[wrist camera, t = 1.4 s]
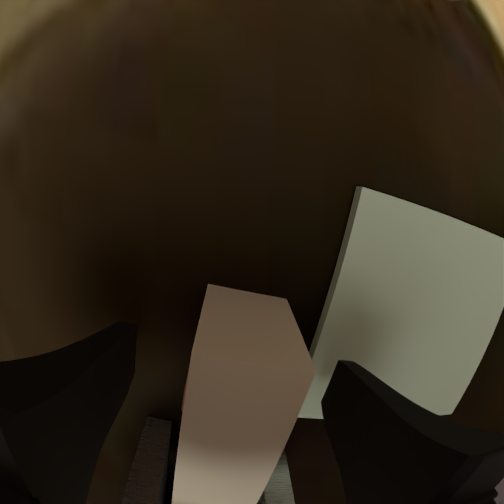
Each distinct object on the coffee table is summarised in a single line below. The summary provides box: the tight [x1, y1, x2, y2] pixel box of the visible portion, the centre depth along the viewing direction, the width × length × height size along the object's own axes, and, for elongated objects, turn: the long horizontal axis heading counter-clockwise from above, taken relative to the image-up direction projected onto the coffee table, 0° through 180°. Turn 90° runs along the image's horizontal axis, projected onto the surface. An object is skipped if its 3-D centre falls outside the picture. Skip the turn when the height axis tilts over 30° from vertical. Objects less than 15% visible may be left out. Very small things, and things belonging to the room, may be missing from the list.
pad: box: [298, 186, 504, 419], centre depth 12 cm, size 10×10×1 cm
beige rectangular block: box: [172, 284, 316, 504], centre depth 11 cm, size 3×10×5 cm, turn 167°
